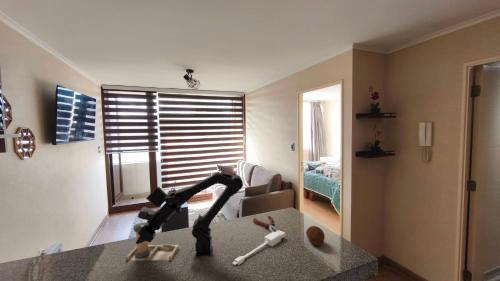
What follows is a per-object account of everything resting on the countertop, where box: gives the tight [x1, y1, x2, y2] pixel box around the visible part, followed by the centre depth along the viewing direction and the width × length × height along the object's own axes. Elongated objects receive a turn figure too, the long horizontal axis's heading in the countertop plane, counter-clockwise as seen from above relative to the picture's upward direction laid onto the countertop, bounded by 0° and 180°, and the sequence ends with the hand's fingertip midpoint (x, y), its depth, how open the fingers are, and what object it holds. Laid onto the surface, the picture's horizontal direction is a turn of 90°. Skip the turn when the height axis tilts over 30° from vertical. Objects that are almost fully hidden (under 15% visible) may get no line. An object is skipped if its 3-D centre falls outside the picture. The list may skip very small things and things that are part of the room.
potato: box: [305, 225, 326, 247], centre depth 105 cm, size 8×12×8 cm, turn 16°
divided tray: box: [125, 243, 180, 261], centre depth 96 cm, size 19×9×3 cm, turn 89°
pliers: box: [252, 215, 278, 233], centre depth 123 cm, size 12×20×3 cm, turn 20°
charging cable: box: [232, 230, 286, 266], centre depth 100 cm, size 5×32×3 cm, turn 135°
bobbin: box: [133, 221, 150, 259], centre depth 95 cm, size 6×6×13 cm
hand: (138, 240), depth 95 cm, fingers closed on bobbin, 5 cm apart
